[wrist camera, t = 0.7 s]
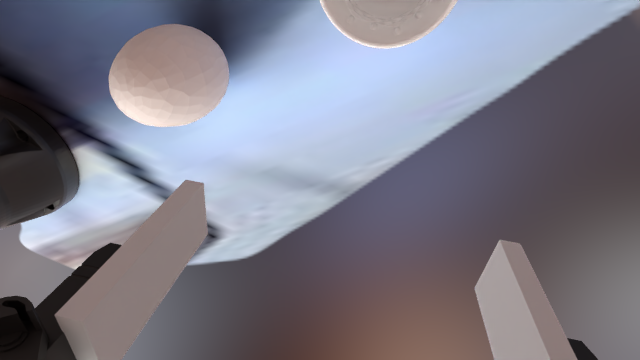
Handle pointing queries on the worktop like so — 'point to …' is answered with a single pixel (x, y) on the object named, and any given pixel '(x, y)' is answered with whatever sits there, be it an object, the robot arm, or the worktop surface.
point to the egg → (169, 76)
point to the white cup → (386, 19)
